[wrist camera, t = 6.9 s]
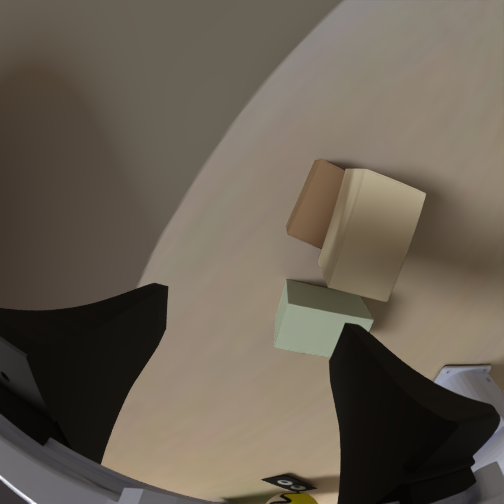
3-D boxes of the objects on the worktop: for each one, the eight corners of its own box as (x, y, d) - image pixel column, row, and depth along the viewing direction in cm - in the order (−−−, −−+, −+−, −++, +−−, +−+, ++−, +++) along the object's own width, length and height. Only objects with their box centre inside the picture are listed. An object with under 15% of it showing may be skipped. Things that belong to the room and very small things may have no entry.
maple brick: (346, 168, 15) (366, 168, 12) (395, 187, 15) (426, 193, 12) (317, 261, 17) (328, 287, 13) (366, 275, 17) (387, 302, 13)
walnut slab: (396, 203, 18) (414, 209, 16) (368, 261, 20) (381, 276, 17) (314, 160, 18) (320, 158, 15) (286, 224, 20) (287, 234, 17)
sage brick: (359, 294, 21) (373, 320, 17) (344, 331, 22) (354, 360, 18) (286, 278, 21) (288, 303, 17) (275, 317, 22) (274, 347, 18)
